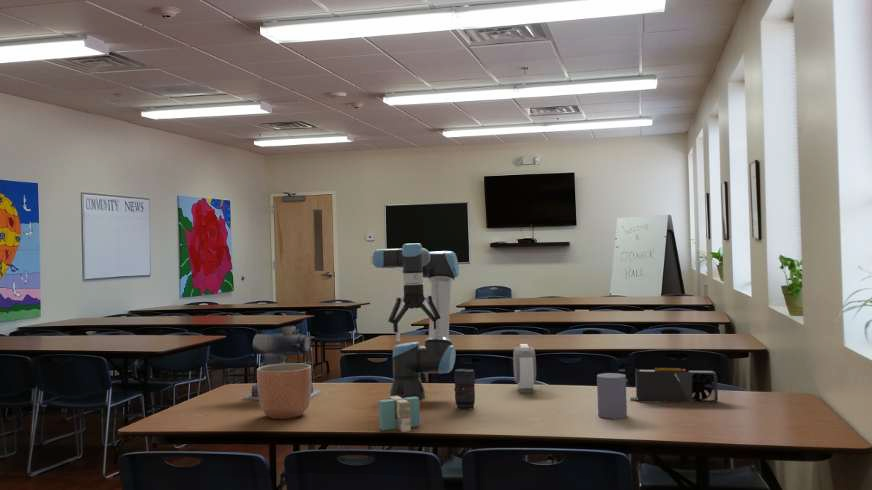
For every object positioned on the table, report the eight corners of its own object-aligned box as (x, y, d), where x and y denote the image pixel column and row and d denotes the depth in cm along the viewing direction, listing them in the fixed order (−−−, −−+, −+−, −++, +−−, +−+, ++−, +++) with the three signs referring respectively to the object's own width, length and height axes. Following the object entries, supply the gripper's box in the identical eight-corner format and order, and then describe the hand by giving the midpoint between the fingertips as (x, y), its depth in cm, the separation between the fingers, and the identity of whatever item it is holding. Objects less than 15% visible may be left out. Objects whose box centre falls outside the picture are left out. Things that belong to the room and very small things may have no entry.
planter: (253, 414, 297) (252, 366, 297) (305, 408, 305) (304, 361, 305) (263, 424, 278) (262, 373, 278) (318, 418, 286) (316, 368, 286)
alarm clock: (537, 393, 320) (535, 346, 320) (517, 394, 320) (516, 347, 320) (532, 386, 338) (531, 341, 338) (513, 386, 338) (512, 342, 338)
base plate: (382, 430, 263) (381, 402, 263) (379, 428, 266) (379, 400, 266) (419, 425, 268) (419, 398, 268) (416, 424, 271) (416, 396, 271)
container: (610, 420, 268) (609, 378, 268) (592, 415, 277) (591, 375, 277) (633, 417, 273) (631, 375, 273) (613, 412, 282) (612, 372, 282)
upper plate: (389, 423, 273) (388, 396, 273) (398, 422, 274) (397, 395, 274) (402, 432, 260) (401, 403, 260) (410, 431, 261) (409, 402, 261)
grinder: (258, 391, 345) (256, 325, 345) (322, 392, 339) (320, 324, 340) (240, 399, 327) (238, 329, 327) (308, 400, 321) (306, 328, 321)
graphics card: (630, 401, 299) (629, 366, 299) (630, 399, 304) (629, 364, 304) (718, 404, 291) (717, 367, 291) (716, 402, 296) (715, 365, 296)
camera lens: (474, 410, 292) (472, 371, 292) (453, 409, 293) (452, 371, 293) (477, 405, 300) (475, 368, 300) (457, 405, 301) (456, 368, 301)
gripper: (384, 286, 277) (386, 343, 277) (447, 282, 286) (449, 337, 286) (379, 285, 284) (381, 341, 284) (440, 281, 293) (442, 335, 293)
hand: (415, 339), depth 285 cm, fingers open, 13 cm apart
